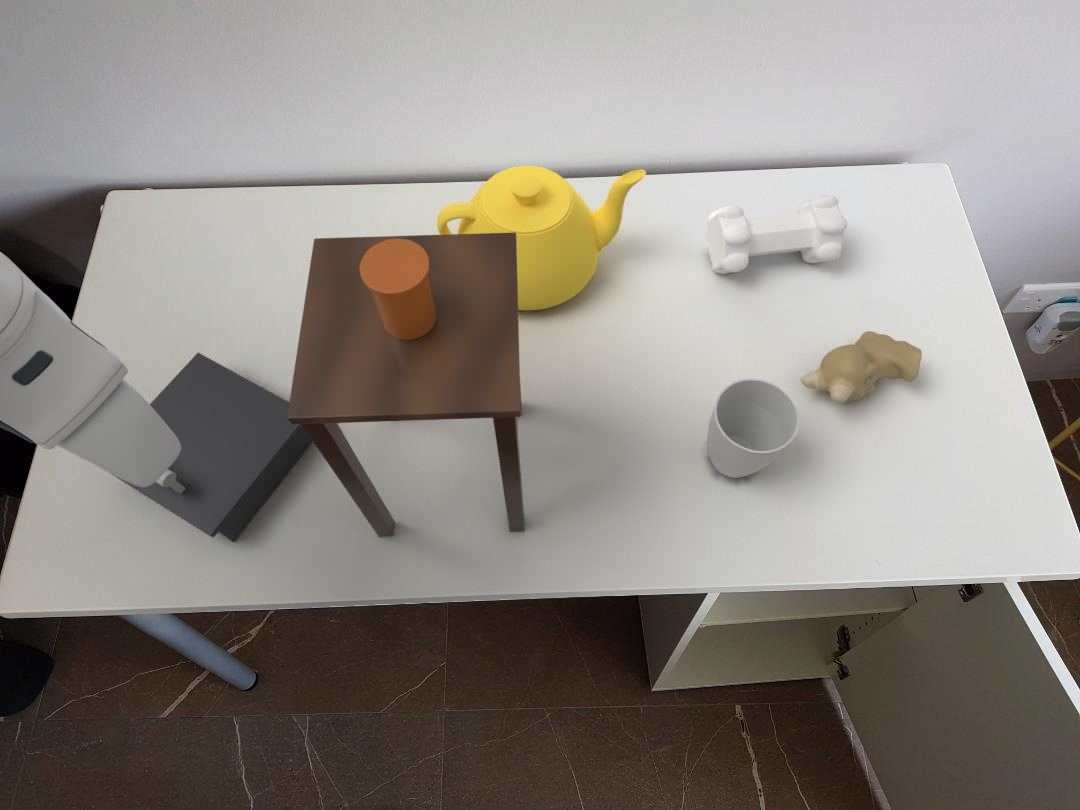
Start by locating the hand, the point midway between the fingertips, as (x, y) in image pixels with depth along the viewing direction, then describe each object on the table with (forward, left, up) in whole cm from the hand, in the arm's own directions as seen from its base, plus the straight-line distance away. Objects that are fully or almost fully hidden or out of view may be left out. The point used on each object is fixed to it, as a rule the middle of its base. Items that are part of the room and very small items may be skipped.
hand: (103, 439), depth 54 cm
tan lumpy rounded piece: (+49, -52, -22) cm, 74 cm away
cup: (+34, -44, -22) cm, 59 cm away
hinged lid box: (+7, +5, -22) cm, 23 cm away
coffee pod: (+18, -18, +6) cm, 26 cm away
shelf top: (+18, -18, +5) cm, 26 cm away
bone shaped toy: (+62, -37, -22) cm, 75 cm away
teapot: (+47, -12, -22) cm, 53 cm away
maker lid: (+6, +5, -18) cm, 20 cm away
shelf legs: (+18, -18, -22) cm, 33 cm away
